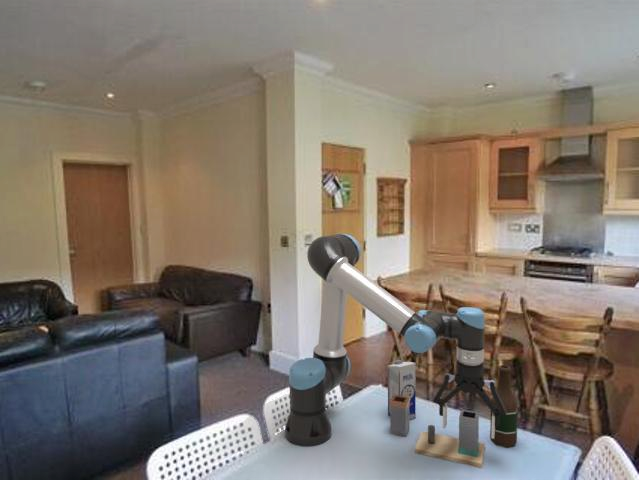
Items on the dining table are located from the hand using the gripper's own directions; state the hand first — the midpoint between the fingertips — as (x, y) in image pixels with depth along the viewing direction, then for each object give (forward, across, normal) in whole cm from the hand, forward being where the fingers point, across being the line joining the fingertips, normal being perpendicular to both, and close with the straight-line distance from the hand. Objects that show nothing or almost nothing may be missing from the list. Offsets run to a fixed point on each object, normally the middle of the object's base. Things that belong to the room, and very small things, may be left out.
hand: (468, 431), depth 128 cm
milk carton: (+8, -24, +14) cm, 29 cm away
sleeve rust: (+7, -22, +4) cm, 23 cm away
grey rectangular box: (+6, 0, 0) cm, 6 cm away
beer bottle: (+7, +9, +12) cm, 17 cm away
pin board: (+7, -5, 0) cm, 9 cm away
